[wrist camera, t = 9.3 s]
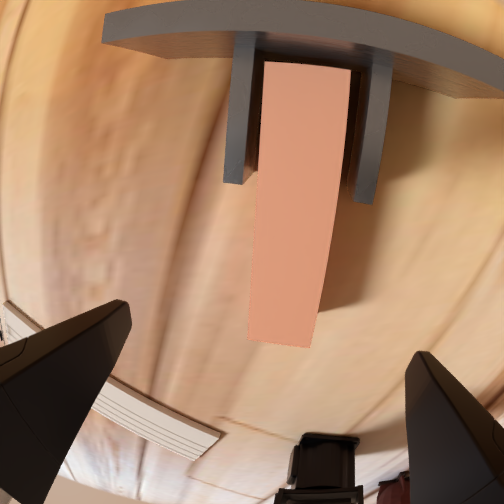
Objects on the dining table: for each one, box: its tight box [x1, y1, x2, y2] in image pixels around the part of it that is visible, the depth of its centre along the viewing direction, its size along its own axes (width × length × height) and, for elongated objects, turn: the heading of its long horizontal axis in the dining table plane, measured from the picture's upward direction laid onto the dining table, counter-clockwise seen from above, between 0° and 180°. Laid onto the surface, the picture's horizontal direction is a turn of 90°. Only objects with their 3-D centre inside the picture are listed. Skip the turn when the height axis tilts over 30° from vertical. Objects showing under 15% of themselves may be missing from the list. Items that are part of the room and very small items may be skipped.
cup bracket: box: [101, 0, 504, 205], centre depth 13 cm, size 18×8×7 cm, turn 85°
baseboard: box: [0, 301, 221, 461], centre depth 33 cm, size 31×3×12 cm
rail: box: [247, 62, 351, 348], centre depth 18 cm, size 16×4×4 cm, turn 177°
